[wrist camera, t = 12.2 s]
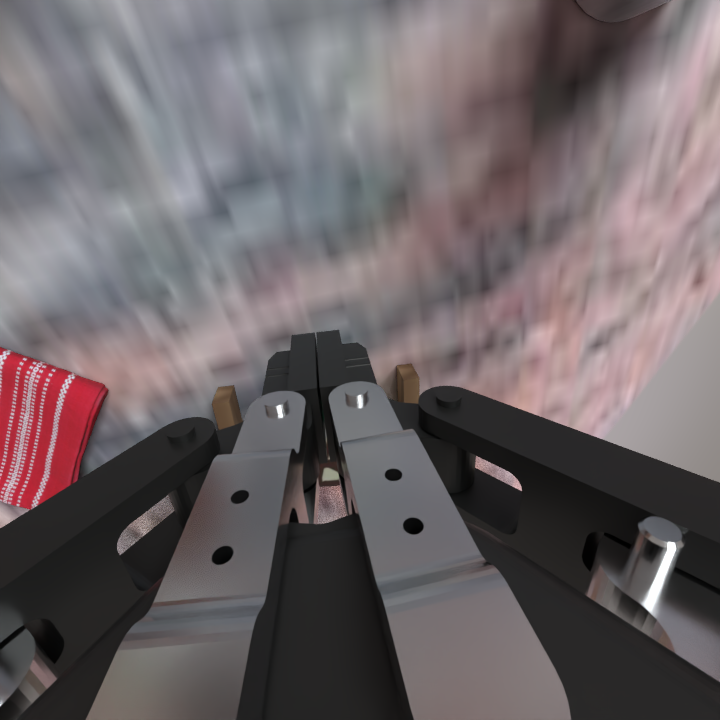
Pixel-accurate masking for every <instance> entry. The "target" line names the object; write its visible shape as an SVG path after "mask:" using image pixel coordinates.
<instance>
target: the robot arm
mask: <svg viewBox="0 0 720 720" xmlns="http://www.w3.org/2000/svg"><path fill="white" fill-rule="evenodd" d="M669 1H671V0H576V2H577V4H578V5H579V6H580V7H581V8H582V9H583V10H584V11H585V12H586V13H587V14H588V15H590V16H591V17H593V18H595V19H596V20H600V21H604V22H621V21H624V20H627V19H630V18H633V17H635V16H638V15H640V14H642V13H644V12H647V11H649V10H651V9H653V8H656V7H658V6H660V5H662V4H665V3H667V2H669ZM317 350H318V352H317ZM325 429H326V431H325ZM326 436H327V443H328V450H329V457H330V462H336V461H337V467H338V475H339V482H340V488H341V493H342V498H343V503H344V507H345V512H346V516H345V517H343V518H340V519H337V520H335V521H332V522H329V523H326V524H317V520H318V504H319V480H318V476H319V464H323V463H328V460H327V445H326ZM476 456H478V457H480V458H482V459H484V460H486V461H488V462H490V463H492V464H495V465H497V466H499V467H501V468H503V469H505V470H507V471H509V472H510V473H512V474H513V475H514V476H515V477H516V478H517V479H518V481H519V482H520V484H521V487H522V491H520V490H518V489H516V488H514V487H512V486H510V485H508V484H506V483H504V482H502V481H500V480H498V479H496V478H494V477H492V476H490V475H488V474H486V473H484V472H482V471H480V470H478V469H476V468H475V460H476ZM167 495H169V497H170V500H171V502H172V505H173V507H174V510H175V511H174V512H173V513H172V514H170V515H169V516H168V517H167V518H165V519H164V520H163V521H162V522H160V523H159V524H158V525H157V526H156V527H154V528H153V529H152V530H151V531H149V532H148V533H147V534H146V535H145V536H143V537H142V538H141V539H140V540H138V541H137V542H136V543H135V544H134V545H132V546H131V547H130V548H129V549H127V550H126V551H125V552H124V553H123V554H121V555H119V553H118V551H117V542H118V539H119V537H120V535H121V533H122V532H123V531H124V529H125V528H126V527H127V526H128V525H129V524H131V523H132V522H133V521H134V520H136V519H137V518H138V517H140V516H141V515H142V514H144V513H145V512H146V511H147V510H149V509H150V508H151V507H153V506H154V505H155V504H157V503H158V502H159V501H160V500H162V499H163V498H164V497H166V496H167ZM0 720H720V483H719V482H716V481H714V480H711V479H708V478H705V477H703V476H700V475H697V474H695V473H691V472H689V471H686V470H684V469H681V468H678V467H675V466H673V465H670V464H667V463H665V462H662V461H659V460H657V459H654V458H651V457H648V456H645V455H643V454H640V453H637V452H635V451H632V450H629V449H627V448H623V447H621V446H618V445H616V444H613V443H610V442H608V441H605V440H602V439H599V438H597V437H594V436H591V435H589V434H586V433H583V432H580V431H578V430H575V429H572V428H570V427H567V426H564V425H561V424H559V423H556V422H553V421H551V420H548V419H545V418H542V417H540V416H537V415H534V414H531V413H529V412H526V411H523V410H521V409H518V408H515V407H512V406H510V405H507V404H504V403H502V402H499V401H496V400H493V399H491V398H488V397H485V396H483V395H480V394H477V393H474V392H472V391H469V390H466V389H463V388H460V387H455V386H439V387H434V388H431V389H428V390H426V391H424V392H423V393H422V394H421V395H420V397H419V400H418V404H417V403H404V402H398V401H394V400H391V399H389V398H387V396H386V394H385V392H384V390H383V389H382V388H381V387H380V386H378V385H377V383H376V379H375V376H374V373H373V370H372V367H371V364H370V360H369V358H368V354H367V351H366V348H364V347H363V346H361V345H360V344H359V343H349V344H342V343H341V338H340V333H339V330H333V331H324V332H317V345H316V338H315V333H307V334H299V335H292V338H291V350H290V351H282V352H276V353H275V354H274V355H273V356H272V357H271V358H270V359H269V361H268V366H267V371H266V378H265V382H264V387H263V392H262V396H261V397H259V398H258V399H256V400H255V401H254V402H253V403H252V404H251V405H250V406H249V408H248V411H247V414H246V416H245V419H244V421H243V422H241V423H238V424H236V425H233V426H230V427H227V428H224V429H221V430H218V431H216V429H215V426H214V424H213V422H212V421H211V420H209V419H206V418H201V417H192V418H186V419H182V420H178V421H175V422H173V423H171V424H168V425H167V426H165V427H163V428H161V429H160V430H158V431H157V432H155V433H153V434H152V435H150V436H149V437H147V438H145V439H144V440H142V441H141V442H139V443H137V444H136V445H134V446H132V447H131V448H129V449H128V450H126V451H124V452H123V453H121V454H120V455H118V456H116V457H115V458H113V459H112V460H110V461H108V462H107V463H105V464H103V465H102V466H100V467H99V468H97V469H95V470H94V471H92V472H91V473H89V474H87V475H86V476H84V477H83V478H81V479H79V480H78V481H76V482H75V483H73V484H71V485H70V486H68V487H66V488H65V489H63V490H62V491H60V492H58V493H57V494H55V495H54V496H52V497H50V498H49V499H47V500H46V501H44V502H42V503H41V504H39V505H38V506H36V507H34V508H33V509H31V510H29V511H28V512H26V513H25V514H23V515H21V516H20V517H18V518H17V519H15V520H13V521H12V522H10V523H9V524H7V525H5V526H4V527H2V528H0Z"/></svg>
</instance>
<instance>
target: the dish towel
mask: <svg viewBox="0 0 720 720" xmlns="http://www.w3.org/2000/svg"><path fill="white" fill-rule="evenodd" d="M107 393H108V389H107V388H105V385H104V384H102V383H98V382H95V381H92V380H89V379H86V378H83V377H80V376H78V375H77V374H74V373H71V372H69V371H66V370H63V369H61V368H58V367H55V366H52V365H50V364H47V363H45V362H41V361H39V360H35V359H32V358H30V357H27V356H23V355H21V354H18V353H15V352H13V351H10V350H7V349H4V348H1V347H0V501H2V502H4V503H7V504H11V505H15V506H18V507H23V508H27V509H30V510H31V509H33V508H34V507H36V506H38V505H39V504H41V503H42V502H44V501H46V500H47V499H49V498H50V497H52V496H54V495H55V494H57V493H58V492H60V491H62V490H63V489H65V488H66V487H68V486H70V485H71V484H73V483H75V482H76V481H78V475H79V469H80V463H81V460H82V457H83V454H84V451H85V449H86V446H87V443H88V440H89V438H90V436H91V433H92V430H93V427H94V424H95V421H96V419H97V416H98V414H99V411H100V409H101V406H102V403H103V401H104V399H105V397H106V395H107Z"/></svg>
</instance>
